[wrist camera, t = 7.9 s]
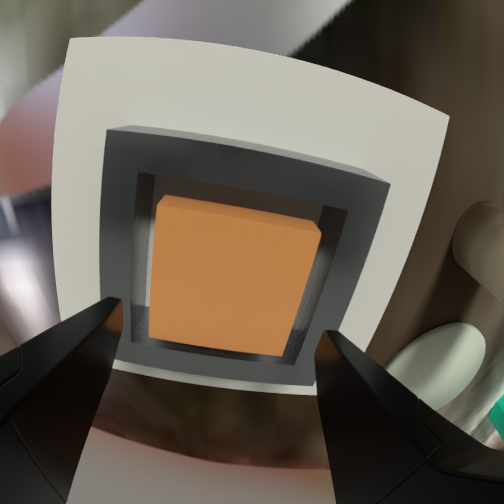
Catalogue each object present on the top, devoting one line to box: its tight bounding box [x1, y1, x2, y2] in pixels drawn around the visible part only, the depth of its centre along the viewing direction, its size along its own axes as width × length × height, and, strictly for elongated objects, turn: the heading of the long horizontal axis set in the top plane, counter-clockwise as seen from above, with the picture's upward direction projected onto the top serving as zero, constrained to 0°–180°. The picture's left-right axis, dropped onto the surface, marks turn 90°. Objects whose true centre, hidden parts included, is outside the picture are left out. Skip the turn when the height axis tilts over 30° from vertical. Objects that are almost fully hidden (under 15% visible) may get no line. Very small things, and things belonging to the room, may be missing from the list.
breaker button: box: [149, 195, 322, 356], centre depth 11 cm, size 5×5×1 cm
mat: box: [384, 322, 486, 411], centre depth 18 cm, size 9×9×1 cm
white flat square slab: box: [52, 37, 449, 395], centre depth 12 cm, size 16×16×3 cm
